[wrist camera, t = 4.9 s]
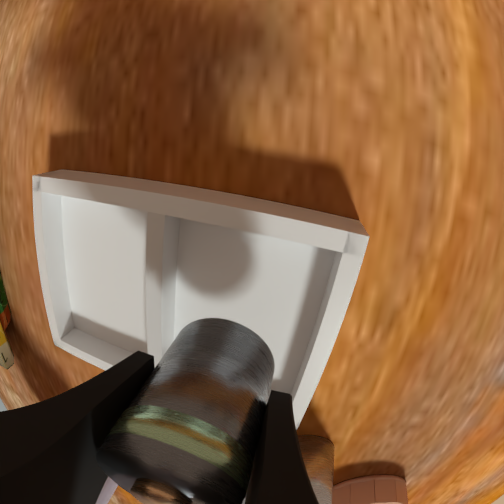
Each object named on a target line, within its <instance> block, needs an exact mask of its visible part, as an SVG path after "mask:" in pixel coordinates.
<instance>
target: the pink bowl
mask: <svg viewBox="0 0 504 504" xmlns="http://www.w3.org/2000/svg"><path fill="white" fill-rule="evenodd" d="M332 504H408V499H407V489H406V481H405V480H404V479H403V478H402V477H399V476H395V475H371V476H364V477H359V478H354V479H350V480H347V481H344V482H341V483H339V484H336V485H334V486H333V491H332Z"/></svg>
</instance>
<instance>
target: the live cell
mask: <svg viewBox="0 0 504 504" xmlns="http://www.w3.org/2000/svg"><path fill="white" fill-rule="evenodd" d="M274 368H275V365H274V358H273V355H272V353H271V350H270V349H269V347H268V345H267V344H266V343H265V342H264V340H263V339H262V338H261V337H260V336H259V335H257V334H256V333H255V332H253V331H252V330H250V329H249V328H247V327H245V326H243V325H241V324H239V323H236V322H234V321H230V320H227V319H221V318H204V319H199V320H196V321H193V322H191V323H189V324H188V325H186V326H185V327H184V328H183V329H182V330H181V331H180V332H179V334H178V335H177V337H176V338H175V340H174V341H173V342H172V344H171V345H170V347H169V348H168V350H167V351H166V353H165V354H164V355H163V357H162V358H161V360H160V361H159V363H158V364H157V366H156V367H155V368H154V370H153V371H152V373H151V374H150V376H149V377H148V379H147V380H146V381H145V383H144V384H143V386H142V387H141V389H140V390H139V392H138V393H137V395H136V396H135V397H134V399H133V400H132V402H131V403H130V405H129V406H128V408H127V409H126V410H125V411H124V412H123V413H122V415H121V416H120V418H119V419H118V420H117V422H116V423H115V425H114V426H113V428H112V429H111V431H110V432H109V434H108V435H107V437H106V439H105V442H104V443H103V445H102V446H101V448H100V449H99V451H98V452H97V454H96V460H97V462H98V464H99V466H100V467H101V469H102V470H103V471H104V472H105V473H106V474H107V475H108V476H109V477H110V478H111V479H112V480H113V481H114V482H115V483H117V484H118V485H119V486H120V487H122V488H123V489H125V490H126V491H127V492H129V493H131V494H132V495H133V496H134V497H135V498H136V499H137V500H139V501H140V502H142V503H143V504H242V503H243V500H244V498H245V496H246V492H247V489H248V485H249V481H250V477H251V473H252V469H253V461H254V457H255V453H256V449H257V445H258V441H259V436H260V431H261V427H262V422H263V418H264V414H265V409H266V405H267V402H268V397H269V393H270V388H271V384H272V379H273V374H274Z"/></svg>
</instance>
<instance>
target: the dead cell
mask: <svg viewBox="0 0 504 504" xmlns="http://www.w3.org/2000/svg"><path fill="white" fill-rule="evenodd" d="M297 437H298V441H299V445H300V449H301V454H302V457H303V461H304V464H305V467H306V470H307V474H308V477H309V480H310V482H311V485H312V488H313V490H314V493H315V495H316V498H317V500H318V503H319V504H332V491H333V471H334V445H333V443H332V442H331V441H330V440H328V439H326V438H324V437H320V436H316V435H298V436H297Z"/></svg>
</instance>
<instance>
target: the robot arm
mask: <svg viewBox="0 0 504 504" xmlns="http://www.w3.org/2000/svg"><path fill="white" fill-rule="evenodd" d="M154 368H155V366H154V356H153V355H150V354H147V353H144V352H142V351H137V352H135V353H133V354H132V355H130V356H128V357H127V358H125V359H124V360H122V361H120V362H119V363H117V364H116V365H114V366H112V367H111V368H109V369H107V370H106V371H104V372H102V373H100V374H99V375H97V376H95V377H93V378H92V379H90V380H88V381H86V382H84V383H83V384H81V385H79V386H77V387H75V388H72V389H70V390H68V391H66V392H64V393H62V394H60V395H57V396H55V397H52V398H50V399H47V400H44V401H42V402H39V403H35V404H32V405H29V406H25V407H21V408H17V409H13V410H8V411H2V412H0V504H107V503H108V502H109V500H110V498H111V497H112V495H113V493H114V491H115V490H116V488H117V486H118V484H117V483H115V482H114V481H113V480H112V479H111V478H110V477H109V476H108V475H107V474H106V473H105V472H104V471H103V470H102V469H101V467H100V466H99V464H98V462H97V460H96V454H97V452H98V451H99V449H100V448H101V446H102V445H103V443H104V442H105V439H106V437H107V435H108V434H109V432H110V431H111V429H112V428H113V426H114V425H115V423H116V422H117V420H118V419H119V418H120V416H121V415H122V413H123V412H124V411H125V410H126V409H127V408H128V406H129V405H130V403H131V402H132V400H133V399H134V397H135V396H136V395H137V393H138V392H139V390H140V389H141V387H142V386H143V384H144V383H145V381H146V380H147V379H148V377H149V376H150V374H151V373H152V371H153V370H154ZM245 504H319V503H318V500H317V498H316V495H315V493H314V490H313V488H312V485H311V482H310V480H309V477H308V474H307V470H306V467H305V464H304V461H303V457H302V454H301V449H300V445H299V441H298V437H297V432H296V427H295V421H294V414H293V404H292V396H291V395H290V394H289V393H284V392H279V391H274V390H271V393H270V396H269V399H268V402H267V405H266V409H265V414H264V418H263V422H262V427H261V431H260V436H259V441H258V445H257V449H256V453H255V457H254V461H253V469H252V473H251V477H250V481H249V485H248V489H247V493H246V499H245Z"/></svg>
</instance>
